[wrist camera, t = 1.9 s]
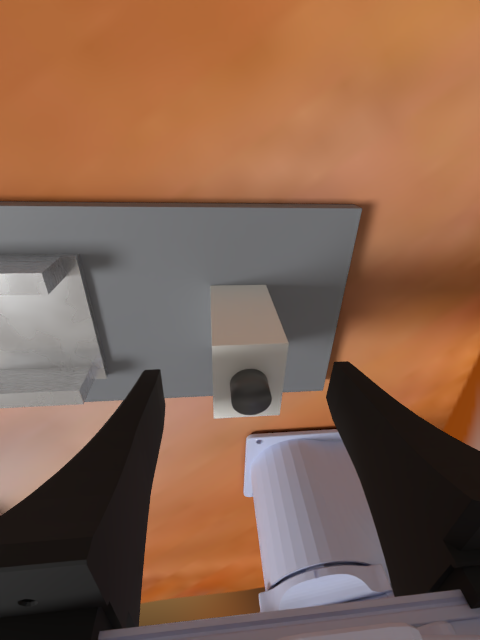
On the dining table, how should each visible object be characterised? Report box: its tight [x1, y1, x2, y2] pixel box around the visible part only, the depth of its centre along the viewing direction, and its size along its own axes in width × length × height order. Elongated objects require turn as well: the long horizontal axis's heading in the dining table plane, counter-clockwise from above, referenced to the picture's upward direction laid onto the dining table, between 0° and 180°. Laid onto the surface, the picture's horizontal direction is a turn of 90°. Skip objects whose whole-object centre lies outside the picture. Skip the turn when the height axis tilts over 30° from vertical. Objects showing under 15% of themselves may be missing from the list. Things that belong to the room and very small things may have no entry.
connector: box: [210, 285, 289, 418], centre depth 15 cm, size 3×4×6 cm
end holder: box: [0, 254, 108, 408], centre depth 16 cm, size 6×8×2 cm
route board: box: [0, 201, 362, 402], centre depth 18 cm, size 22×12×1 cm, turn 88°
